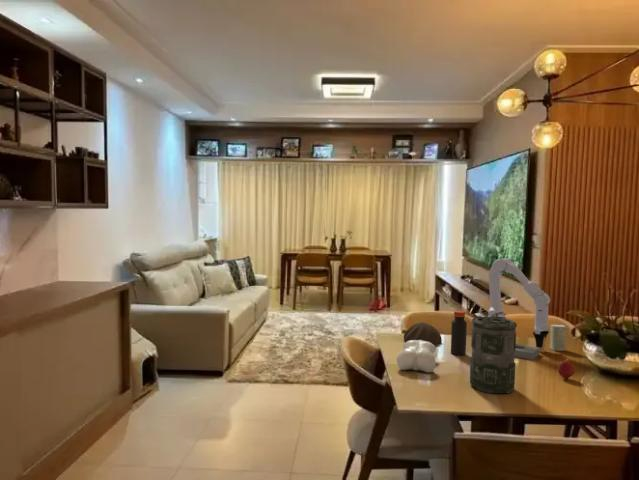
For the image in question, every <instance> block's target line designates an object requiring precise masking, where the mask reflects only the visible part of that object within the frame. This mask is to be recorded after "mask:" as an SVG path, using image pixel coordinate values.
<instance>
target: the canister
mask: <svg viewBox="0 0 639 480" xmlns="http://www.w3.org/2000/svg"><path fill="white" fill-rule="evenodd" d="M494 315H496V316H494ZM471 323H472V328H471V342H470V343H471V344H470V345H471V346H470V347H471V348H472V349H471V356H470V360H469V361H470V363H469V365H470V367H469V384H470V385H471V386H472V387H474V388H475V389H477V390H479V391H480V392H483V393H487V394H509V393H513V391H514V389H515V383H516V382H515V381H516V362H515V357H514V356H515V351H516V344H517V332H516V328H517V326H518V324H517V323H516V321H513V319H512V320H511V319H508V318H504V317H498V313H497V312H496V313H494V314H492V315H491V317H488V316H482V315H479V316H474V317H473V318H472V320H471Z"/></svg>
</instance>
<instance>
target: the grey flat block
mask: <svg viewBox="0 0 639 480" xmlns="http://www.w3.org/2000/svg"><path fill="white" fill-rule="evenodd" d="M539 355H540V352H539V348H537V347H536V346H531V345H525V344H524V345H523V344H518V343H516V351H515V356H514V358H518V359H525V360H530V361H531V360H532V361H533V360H535V358H537V357H538V356H539Z"/></svg>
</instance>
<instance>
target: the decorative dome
mask: <svg viewBox="0 0 639 480" xmlns="http://www.w3.org/2000/svg"><path fill="white" fill-rule="evenodd" d="M410 340H422V341H427V342H430V343H432V344H433V345H434V346H435V347H436V346H437V345H438V346H439V345H442V343H443V341H442V335H441V333H440V332H439V330H437V328H435V327H434V326H433V325H432V324H429V323H427V322H417V323H414V324H412V325H411V326H409V328H407V330H406V331H405V332H404V334H403V343H406V342H407V341H410Z"/></svg>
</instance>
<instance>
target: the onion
mask: <svg viewBox="0 0 639 480" xmlns="http://www.w3.org/2000/svg"><path fill="white" fill-rule="evenodd" d="M557 372H558V374H559V375H560V376H561V377H562V378H563V379H565V380H568V379H569V378H571V377H572V376H573V375H574V374H575V367H574V366H573V364H572V363H570V362H569V359H565V360H564V361H562V362H561V363H560V364H559V365H558V367H557Z"/></svg>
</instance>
